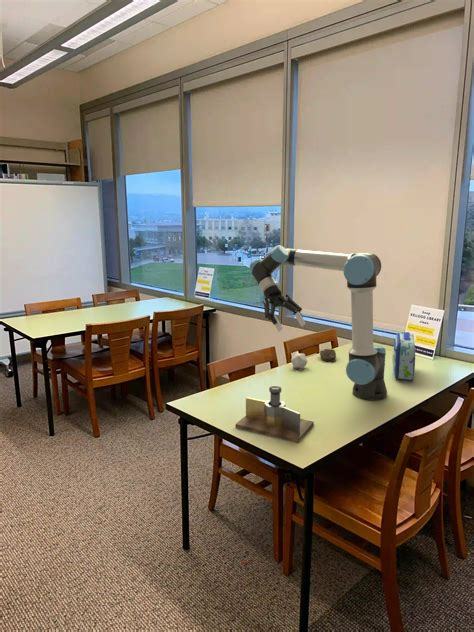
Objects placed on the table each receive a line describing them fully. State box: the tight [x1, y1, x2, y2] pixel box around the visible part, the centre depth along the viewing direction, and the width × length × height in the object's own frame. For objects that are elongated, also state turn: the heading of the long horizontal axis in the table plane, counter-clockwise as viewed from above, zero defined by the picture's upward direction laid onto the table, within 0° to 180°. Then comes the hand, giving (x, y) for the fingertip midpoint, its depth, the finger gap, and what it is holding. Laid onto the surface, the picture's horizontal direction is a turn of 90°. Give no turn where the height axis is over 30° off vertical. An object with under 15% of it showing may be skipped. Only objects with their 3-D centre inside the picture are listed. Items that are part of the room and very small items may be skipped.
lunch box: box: [392, 331, 416, 381], centre depth 227 cm, size 26×11×21 cm, turn 161°
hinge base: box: [235, 415, 315, 444], centre depth 173 cm, size 26×16×2 cm, turn 61°
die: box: [290, 352, 308, 370], centre depth 240 cm, size 8×9×10 cm
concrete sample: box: [319, 348, 337, 363], centre depth 255 cm, size 12×10×5 cm
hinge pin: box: [268, 385, 282, 406], centre depth 171 cm, size 5×5×14 cm
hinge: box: [245, 396, 301, 434], centre depth 171 cm, size 24×8×8 cm, turn 61°
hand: (292, 327), depth 193 cm, fingers open, 13 cm apart
